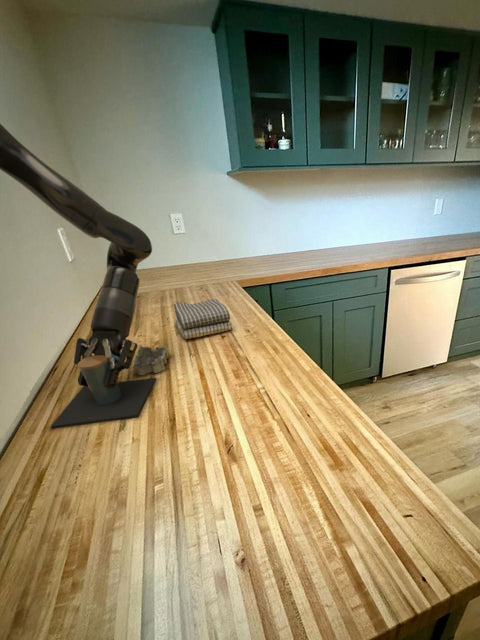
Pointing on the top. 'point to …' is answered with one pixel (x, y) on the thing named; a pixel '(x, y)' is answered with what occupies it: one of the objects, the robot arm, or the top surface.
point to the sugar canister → (99, 379)
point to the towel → (201, 318)
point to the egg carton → (150, 360)
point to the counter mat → (90, 412)
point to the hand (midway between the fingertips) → (96, 386)
